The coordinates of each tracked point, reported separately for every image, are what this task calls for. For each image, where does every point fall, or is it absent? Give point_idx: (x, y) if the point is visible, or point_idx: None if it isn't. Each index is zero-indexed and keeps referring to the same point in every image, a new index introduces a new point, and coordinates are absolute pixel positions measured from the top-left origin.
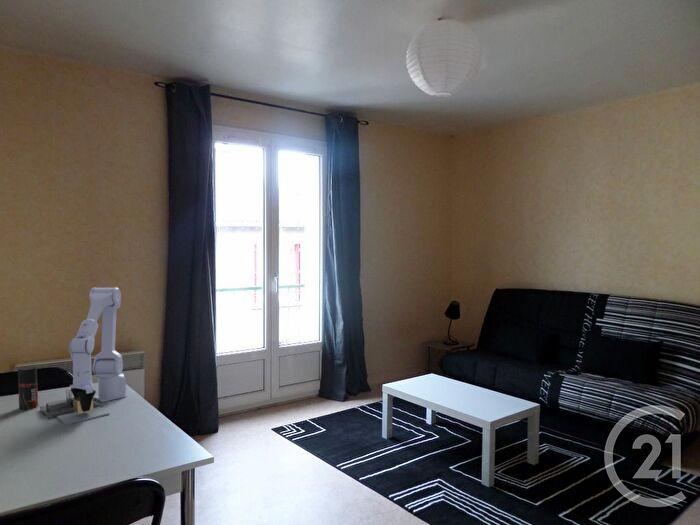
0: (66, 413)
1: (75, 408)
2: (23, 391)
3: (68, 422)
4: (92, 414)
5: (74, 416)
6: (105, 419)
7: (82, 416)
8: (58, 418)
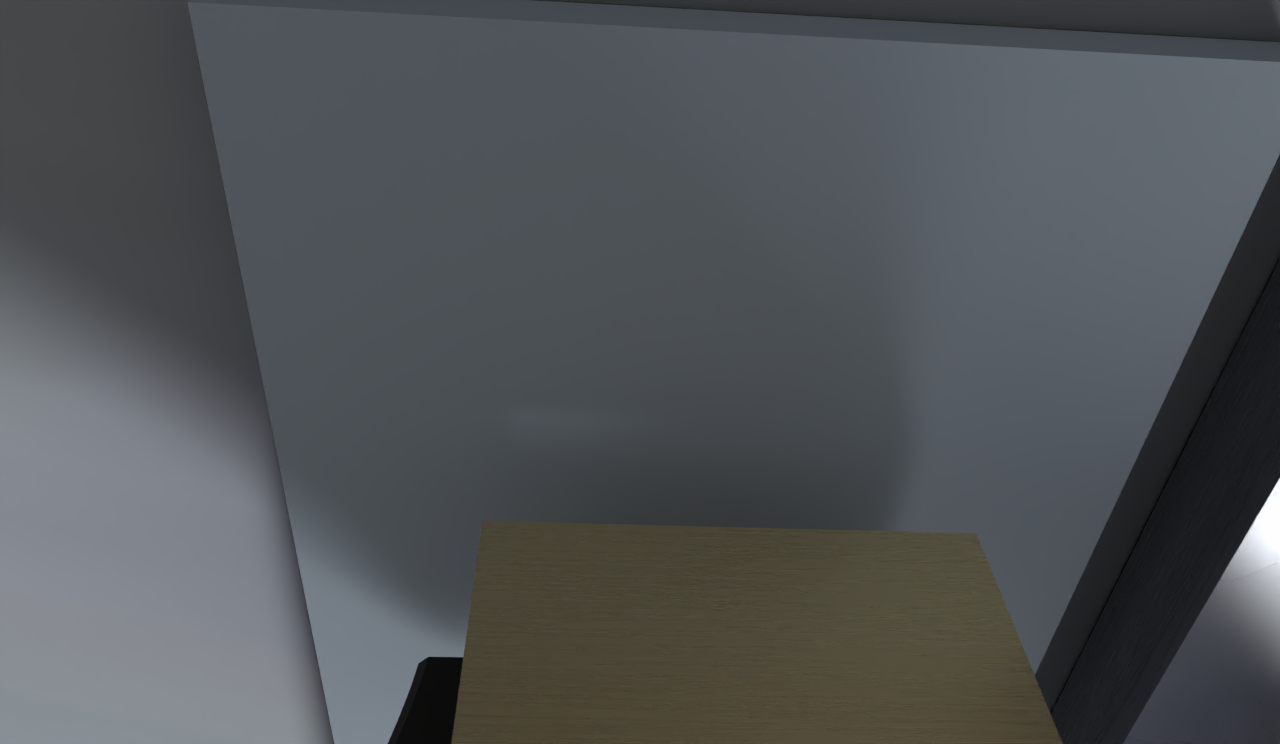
0: (1270, 358)
1: (741, 629)
2: None
3: (270, 102)
4: None
5: (752, 409)
6: (92, 724)
7: None
8: (1142, 42)
